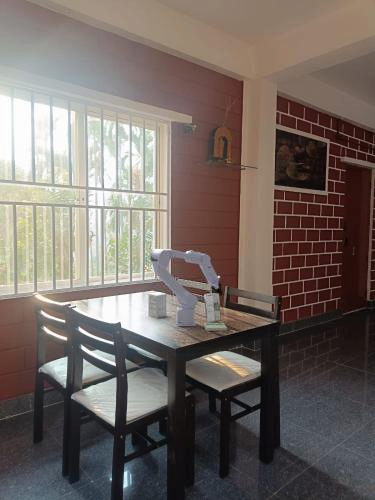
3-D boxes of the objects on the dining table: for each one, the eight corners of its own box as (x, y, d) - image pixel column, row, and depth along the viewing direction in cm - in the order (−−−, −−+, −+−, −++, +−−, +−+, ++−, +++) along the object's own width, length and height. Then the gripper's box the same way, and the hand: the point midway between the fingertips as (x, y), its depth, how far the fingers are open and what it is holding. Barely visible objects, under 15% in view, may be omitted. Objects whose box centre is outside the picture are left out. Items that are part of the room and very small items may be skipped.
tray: (206, 330, 177) (206, 327, 177) (203, 325, 186) (203, 322, 186) (226, 330, 178) (226, 327, 178) (223, 325, 187) (223, 322, 187)
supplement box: (158, 313, 209) (158, 291, 208) (166, 316, 203) (166, 293, 203) (147, 315, 204) (148, 293, 203) (156, 318, 198) (156, 295, 197)
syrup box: (212, 321, 194) (209, 294, 197) (221, 320, 191) (218, 292, 193) (206, 322, 190) (203, 294, 193) (215, 321, 186) (212, 292, 189)
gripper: (219, 275, 186) (230, 295, 191) (213, 264, 200) (223, 284, 205) (207, 281, 186) (218, 302, 191) (201, 270, 200) (212, 290, 205)
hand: (219, 293), depth 198 cm, fingers open, 4 cm apart
